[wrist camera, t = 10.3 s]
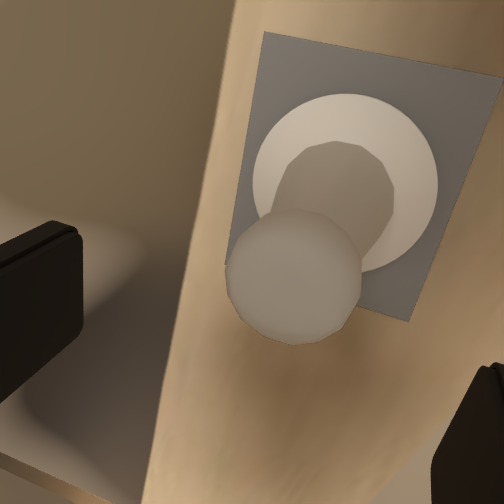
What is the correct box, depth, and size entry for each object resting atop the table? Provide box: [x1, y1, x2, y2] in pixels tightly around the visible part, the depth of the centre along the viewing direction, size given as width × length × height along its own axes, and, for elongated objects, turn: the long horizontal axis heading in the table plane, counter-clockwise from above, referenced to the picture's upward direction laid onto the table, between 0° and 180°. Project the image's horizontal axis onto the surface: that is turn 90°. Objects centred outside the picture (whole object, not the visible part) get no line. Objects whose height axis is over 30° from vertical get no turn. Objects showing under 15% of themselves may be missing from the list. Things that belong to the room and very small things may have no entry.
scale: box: [225, 31, 504, 322], centre depth 27 cm, size 14×12×4 cm
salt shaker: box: [225, 141, 394, 345], centre depth 19 cm, size 6×6×13 cm
